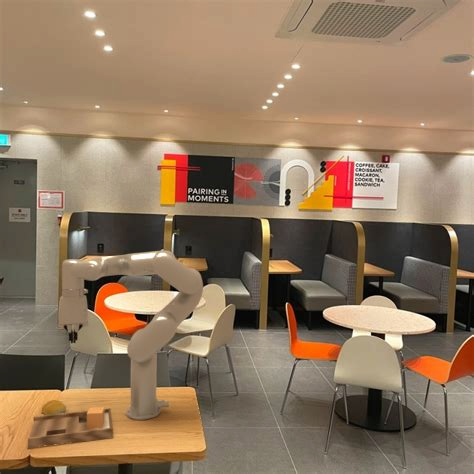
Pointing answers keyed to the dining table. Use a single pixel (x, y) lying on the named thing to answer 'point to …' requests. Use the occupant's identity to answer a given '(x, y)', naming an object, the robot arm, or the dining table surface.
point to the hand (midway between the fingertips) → (73, 342)
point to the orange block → (95, 417)
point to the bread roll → (53, 407)
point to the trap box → (67, 429)
